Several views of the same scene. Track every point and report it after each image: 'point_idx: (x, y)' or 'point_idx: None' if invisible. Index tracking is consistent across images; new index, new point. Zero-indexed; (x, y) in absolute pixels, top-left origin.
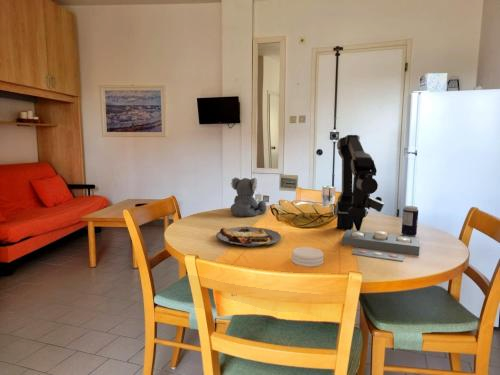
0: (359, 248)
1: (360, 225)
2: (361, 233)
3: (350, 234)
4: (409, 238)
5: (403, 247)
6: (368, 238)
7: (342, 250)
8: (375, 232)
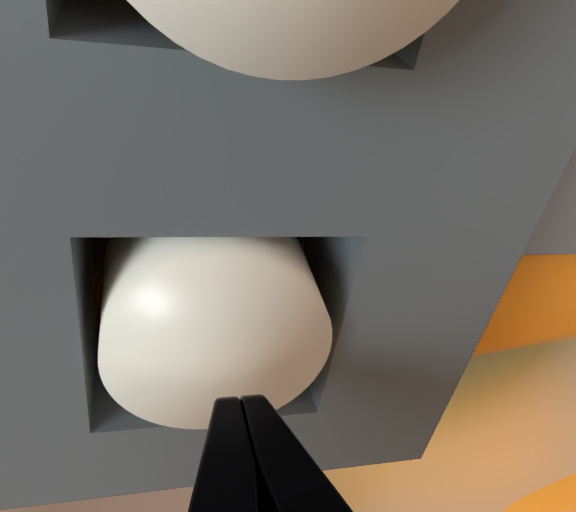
0: None
1: (342, 507)
2: (162, 314)
3: None
4: None
5: None
6: (444, 156)
7: (569, 333)
8: (332, 42)
